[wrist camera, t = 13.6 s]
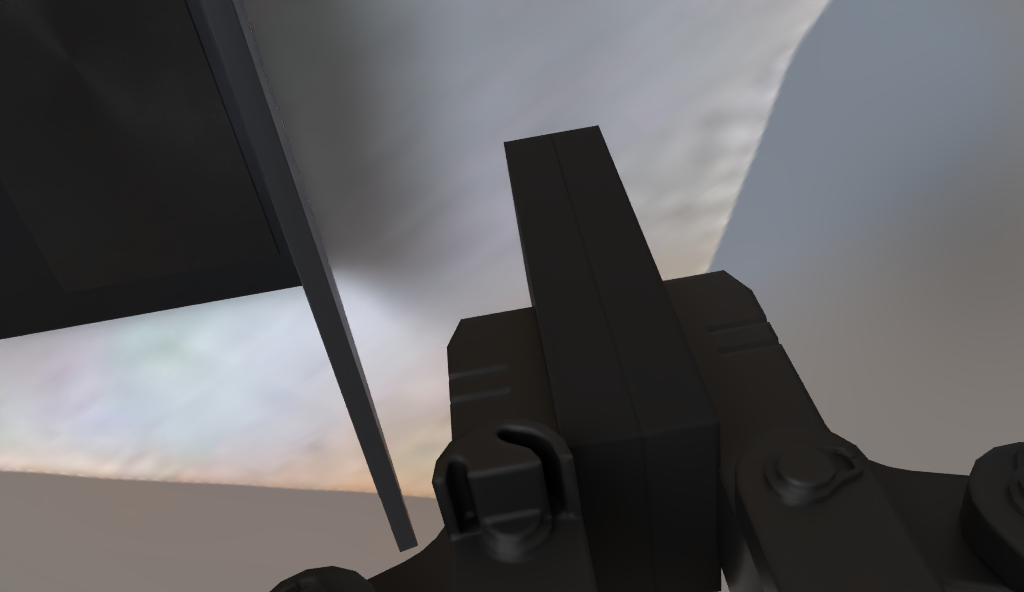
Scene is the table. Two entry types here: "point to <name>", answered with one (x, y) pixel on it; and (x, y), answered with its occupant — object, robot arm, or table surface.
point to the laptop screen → (304, 244)
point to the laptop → (124, 168)
